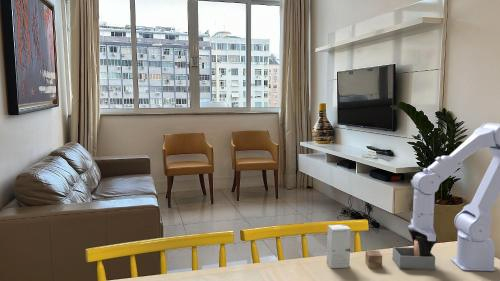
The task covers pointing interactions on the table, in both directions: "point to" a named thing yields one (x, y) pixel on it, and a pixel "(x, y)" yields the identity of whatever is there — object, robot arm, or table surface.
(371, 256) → the cube
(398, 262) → the tote
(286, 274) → the table surface
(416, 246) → the cylinder
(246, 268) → the table surface
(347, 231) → the skincare box
